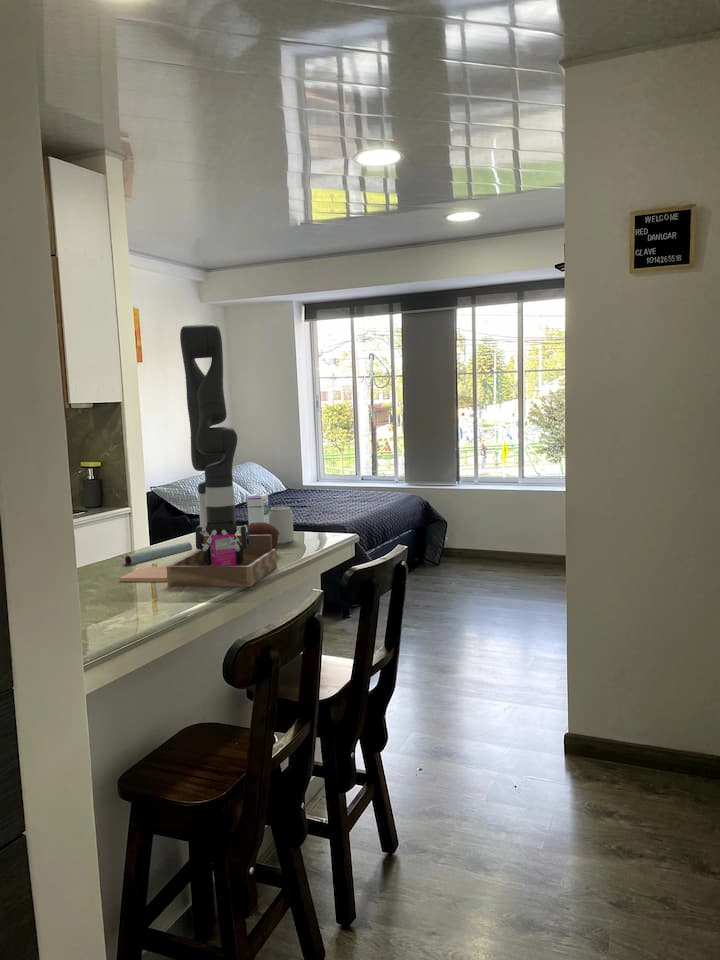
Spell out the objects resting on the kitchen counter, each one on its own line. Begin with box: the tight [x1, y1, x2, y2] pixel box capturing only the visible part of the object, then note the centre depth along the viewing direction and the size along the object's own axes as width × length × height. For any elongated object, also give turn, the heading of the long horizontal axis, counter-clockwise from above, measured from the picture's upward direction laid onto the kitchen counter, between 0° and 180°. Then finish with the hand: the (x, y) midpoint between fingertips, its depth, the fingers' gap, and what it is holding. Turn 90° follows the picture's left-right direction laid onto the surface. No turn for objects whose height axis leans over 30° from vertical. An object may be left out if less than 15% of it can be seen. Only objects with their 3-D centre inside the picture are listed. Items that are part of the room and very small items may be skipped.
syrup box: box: [246, 493, 270, 525], centre depth 254 cm, size 6×6×14 cm
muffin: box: [247, 522, 280, 552], centre depth 220 cm, size 12×11×10 cm
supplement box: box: [209, 534, 237, 566], centre depth 196 cm, size 6×6×12 cm
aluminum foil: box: [124, 541, 193, 566], centre depth 224 cm, size 23×7×3 cm, turn 143°
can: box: [269, 506, 295, 544], centre depth 239 cm, size 8×8×12 cm
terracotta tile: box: [119, 566, 168, 583], centre depth 200 cm, size 13×13×1 cm
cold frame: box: [166, 534, 278, 588], centre depth 196 cm, size 22×22×9 cm
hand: (223, 564), depth 196 cm, fingers closed on supplement box, 8 cm apart
